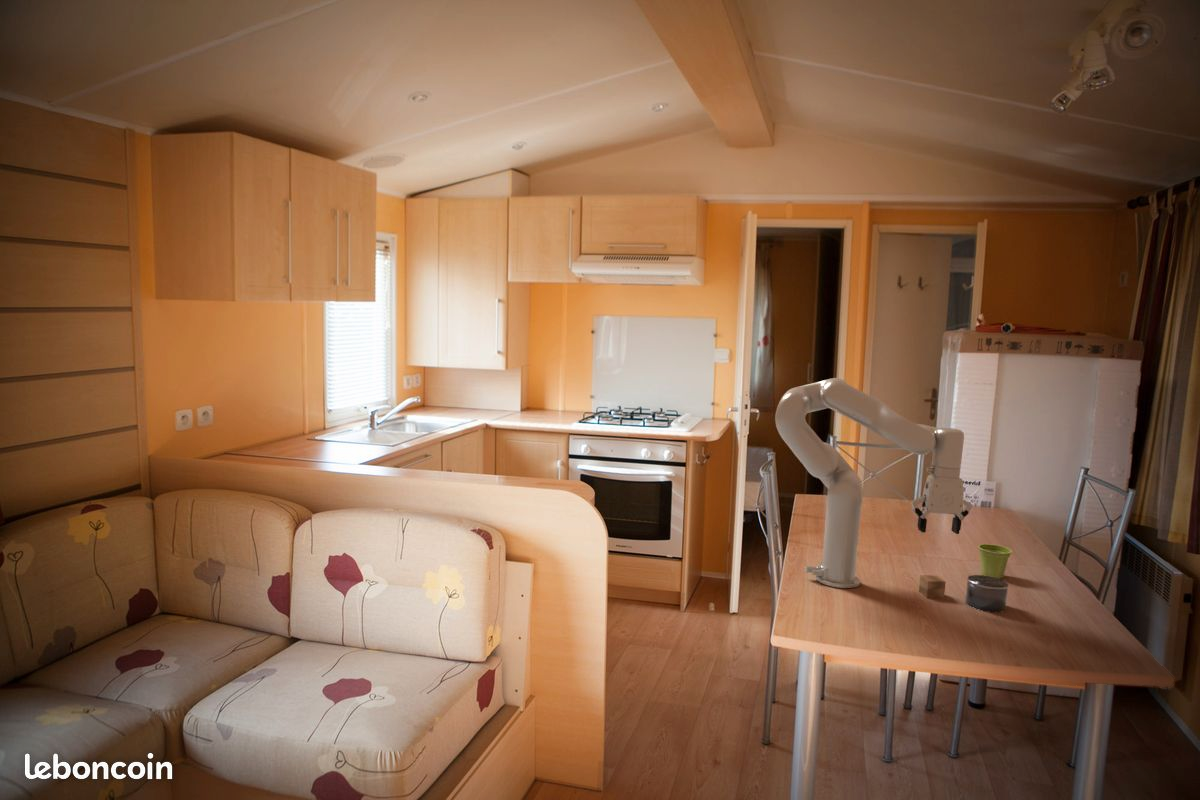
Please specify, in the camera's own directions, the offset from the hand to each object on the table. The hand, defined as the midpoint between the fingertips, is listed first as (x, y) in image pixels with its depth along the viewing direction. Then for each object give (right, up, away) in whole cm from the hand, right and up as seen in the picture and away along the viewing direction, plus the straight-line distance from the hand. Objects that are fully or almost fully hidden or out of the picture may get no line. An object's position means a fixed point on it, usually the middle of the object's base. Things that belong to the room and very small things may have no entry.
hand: (938, 531), depth 228 cm
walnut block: (-1, -18, +2) cm, 18 cm away
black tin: (+11, -20, -5) cm, 23 cm away
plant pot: (+26, -17, +22) cm, 38 cm away
